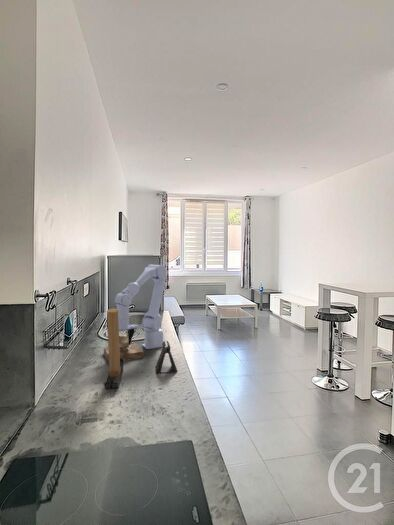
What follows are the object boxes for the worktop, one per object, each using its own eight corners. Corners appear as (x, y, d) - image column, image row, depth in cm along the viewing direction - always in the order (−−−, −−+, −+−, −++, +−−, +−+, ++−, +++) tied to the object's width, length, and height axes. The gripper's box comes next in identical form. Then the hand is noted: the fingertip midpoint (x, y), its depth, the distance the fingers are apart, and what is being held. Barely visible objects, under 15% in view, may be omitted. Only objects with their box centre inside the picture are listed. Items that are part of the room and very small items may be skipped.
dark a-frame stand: (175, 366, 134) (175, 340, 134) (177, 372, 129) (177, 344, 128) (155, 368, 133) (155, 341, 132) (156, 373, 127) (156, 345, 126)
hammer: (118, 396, 111) (115, 321, 105) (104, 397, 111) (100, 322, 104) (124, 366, 131) (122, 301, 124) (112, 366, 130) (109, 301, 123)
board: (135, 348, 158) (135, 343, 158) (143, 357, 146) (143, 351, 145) (103, 353, 150) (103, 347, 150) (109, 363, 138) (109, 356, 138)
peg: (129, 350, 150) (129, 334, 150) (127, 354, 145) (127, 337, 145) (119, 350, 150) (119, 334, 150) (116, 354, 145) (116, 337, 145)
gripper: (135, 314, 154) (135, 340, 155) (106, 317, 147) (106, 345, 148) (139, 317, 148) (139, 344, 148) (109, 320, 141) (109, 349, 142)
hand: (123, 345), depth 148 cm, fingers closed on peg, 5 cm apart
